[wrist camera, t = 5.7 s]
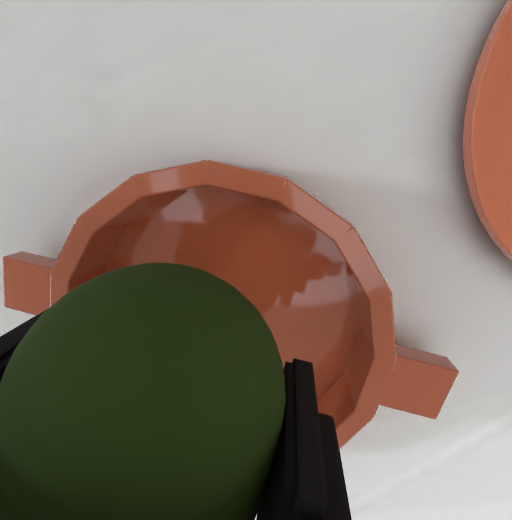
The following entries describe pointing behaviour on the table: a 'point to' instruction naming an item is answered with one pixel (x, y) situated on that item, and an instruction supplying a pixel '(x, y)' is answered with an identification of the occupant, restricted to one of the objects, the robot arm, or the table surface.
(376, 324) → the pot
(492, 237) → the lid
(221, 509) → the avocado
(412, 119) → the table surface
